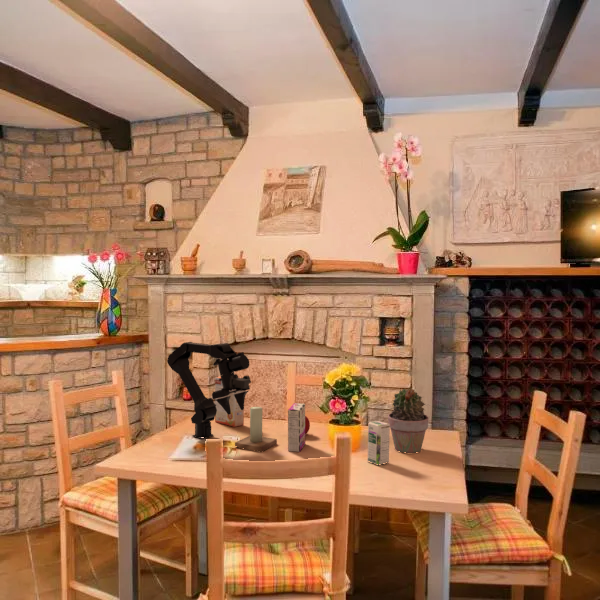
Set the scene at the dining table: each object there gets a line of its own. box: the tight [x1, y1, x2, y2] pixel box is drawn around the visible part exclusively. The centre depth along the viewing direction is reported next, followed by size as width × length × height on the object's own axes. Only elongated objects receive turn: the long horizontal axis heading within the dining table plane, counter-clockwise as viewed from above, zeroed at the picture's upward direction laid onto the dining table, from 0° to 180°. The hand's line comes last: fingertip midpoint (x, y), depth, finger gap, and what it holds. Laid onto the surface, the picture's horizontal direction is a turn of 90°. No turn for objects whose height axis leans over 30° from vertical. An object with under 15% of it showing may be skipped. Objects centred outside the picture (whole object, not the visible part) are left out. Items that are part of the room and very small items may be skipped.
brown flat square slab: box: [234, 435, 278, 453], centre depth 219 cm, size 12×12×2 cm
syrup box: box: [367, 420, 391, 465], centre depth 200 cm, size 6×6×14 cm
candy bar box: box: [287, 402, 306, 453], centre depth 217 cm, size 11×5×16 cm, turn 168°
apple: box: [305, 415, 311, 436], centre depth 235 cm, size 9×9×10 cm
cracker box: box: [214, 376, 245, 428], centre depth 252 cm, size 14×6×21 cm, turn 47°
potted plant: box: [387, 388, 432, 454], centre depth 216 cm, size 18×20×25 cm
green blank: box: [249, 406, 263, 443], centre depth 219 cm, size 5×5×13 cm
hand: (236, 412), depth 222 cm, fingers open, 9 cm apart
